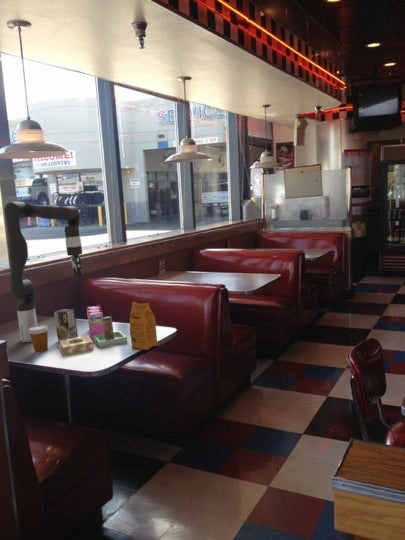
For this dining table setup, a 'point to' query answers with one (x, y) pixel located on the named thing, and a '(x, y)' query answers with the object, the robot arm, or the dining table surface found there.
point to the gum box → (95, 320)
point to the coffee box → (65, 324)
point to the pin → (108, 328)
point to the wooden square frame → (76, 345)
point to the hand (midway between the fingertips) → (77, 276)
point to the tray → (118, 339)
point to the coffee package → (142, 327)
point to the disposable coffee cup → (39, 337)
